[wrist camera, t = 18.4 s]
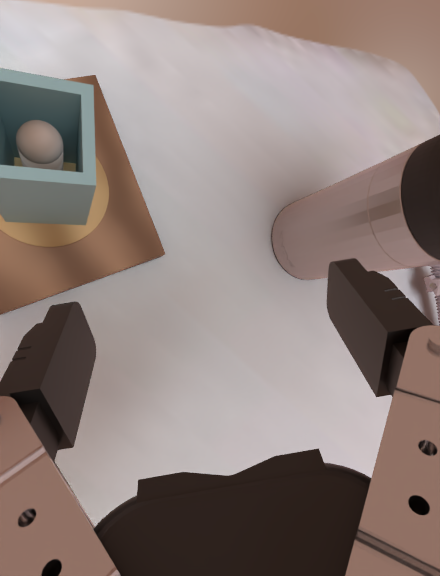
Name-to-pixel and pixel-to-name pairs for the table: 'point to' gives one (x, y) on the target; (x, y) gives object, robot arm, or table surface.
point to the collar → (76, 149)
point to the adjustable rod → (434, 285)
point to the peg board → (76, 238)
